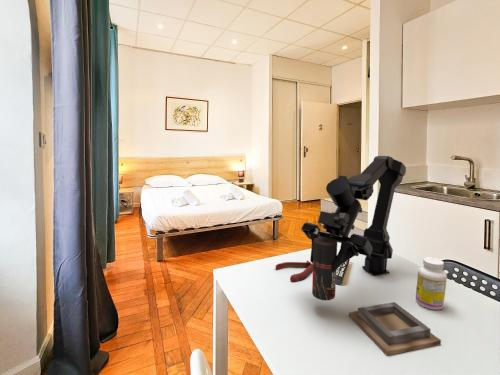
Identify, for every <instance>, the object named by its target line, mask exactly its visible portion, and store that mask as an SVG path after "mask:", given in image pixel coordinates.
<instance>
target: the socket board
mask: <svg viewBox="0 0 500 375" xmlns="http://www.w3.org/2000/svg"><path fill="white" fill-rule="evenodd" d="M348 317H349V318H350V319H351V320H352V321H353V322H354V323H355V325H357V326H358V327H359V328H360V329H361V330H362V332H364V334H365V335H366V336H368V338H369V339H370V340H371V341H372V342H373V343H374V344H375V346H377V347H378V348H379V349H380V350H381V351H382V352H383V353H384V354H385V355H386V357H387V356H392V355H396V354H397V355H399V354H403V353H406V352H411V351H416V350H420V349H426V348H430V347H435V346H440V345H441V344H442V340H441V339H440V338H438V336H436V335H435V334H433V333H432V332H431V330H432V329H431V327H429V326H427V325H426V324H425V323H423V322H422V321H420V320H419V319H418V318H416V317H415V316H414V315H413V314H411V313H410V312H409V311H407V309H405V308H403V307H402V306H401V305H399V304H398V303H397V302H395V301H393V302H386V303H380V304H375V305H374V304H373V305H367V306H361V307H358V308H357V311H349V312H348Z"/></svg>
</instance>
